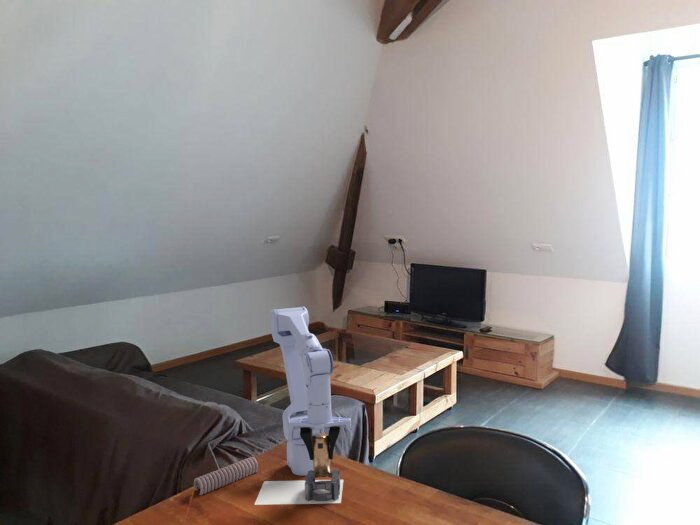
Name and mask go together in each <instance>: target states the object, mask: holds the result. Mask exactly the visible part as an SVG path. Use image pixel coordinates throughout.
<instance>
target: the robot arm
mask: <svg viewBox="0 0 700 525" xmlns="http://www.w3.org/2000/svg"><path fill="white" fill-rule="evenodd" d="M309 324H310V314H309V311H308V309H307V308H306V306H300V307H290V308H289V307H288V308H279V309H278V308H277V309H276V308H273V309H271V311H270V312H269V326H270V331H271V337H272V339H273V342H274V343H277V344H279V347H280V350H281V353H282V359H283V364H284V371H285V376H286V383H287V389H288V394H289V400H290V404H289V405H288V406H287V407H286V408H285V409H284V411H283V413H282V430H283V435H284V438H285V439H286V441H287V443H286V459H287V460H286V463H287V466H288V468H290V469H291V472H292V474H294V475H297V476H304V477H305V476H306V475H307V474H308V471H310V470H313V445H312V436H313V435H315V434H319V433H325V429H329V430H328V435H329V446H330V453H329V458H330V461H331V460H332V461H333V459H334V451H335V446H336V442H337V440H338V438H339V435H340V432H341V429H347V430H349V429H352V418H351V417H339V416H333V414H332V392H331V391H332V390H331V389H332V388H331V374H333V372H334V359H333V355H332V353H331V351H330V349H329V348H328V349H327V348H326V347H324V348H323V346H322V345H321V343H320V341H319V340H318V338H317V336H316V335H315V334H313V333H311V332H310V331H309Z"/></svg>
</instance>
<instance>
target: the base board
mask: <svg viewBox="0 0 700 525" xmlns="http://www.w3.org/2000/svg"><path fill="white" fill-rule="evenodd" d="M330 480H331V479H315V481H316V482H317V481H330ZM343 486H344V479H340V495H339V499H337V500H335V501H334V500H329V501H314V500H310V501H307V500H305V479H304V480H303V479H302V480H301V479H300V480H271V481H269V480H266V481H263V483H262V486H261V488H260V490H259V493H258V495H257V496H256V499H255V502H254V506H262V505H263V506H265V505H266V506H268V505H270V506H271V505H272V506H274V505H311V504H312V505H313V504H315V505H318V504H319V505H320V504H321V505H322V504H342V496H343ZM313 492H314V493H318V494H326V493H329V492H331V488H329V489H319V490H317V489H315V490H314V491H313Z"/></svg>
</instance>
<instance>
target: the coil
mask: <svg viewBox="0 0 700 525" xmlns="http://www.w3.org/2000/svg"><path fill="white" fill-rule="evenodd" d="M258 471H259V463H258V461H257V459H256V458H255V457H254V456H250V457H248V458H245V459H243V460H239V461H237V462H234V463H232V464H230V465H227V466H224V467H221V468H220V469H217V470H213V471H211V472H209V473H206V474H203V475H202V476H198V477H196V478H194V480H193V488H194V491H199V495H198V496H203V495H206V494H207V493H211V492H213V491H215V490H218V488H219V489H220V488H221V487H225V486H227V485H228V484H231V483H235V482H237V481H239V480H242V479H244V478H247V477H248V476H251V475H254V474H256V473H258ZM199 489H200V490H199Z"/></svg>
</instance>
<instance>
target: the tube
mask: <svg viewBox="0 0 700 525" xmlns="http://www.w3.org/2000/svg"><path fill="white" fill-rule="evenodd" d="M312 445H313V472H314V476H316V477H317V478H326V477H327V476H329V475H330V470H331V460H330V458H329V453H330V444H329V433H325V432H324V433H319V434H315V435H313V436H312Z"/></svg>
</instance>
